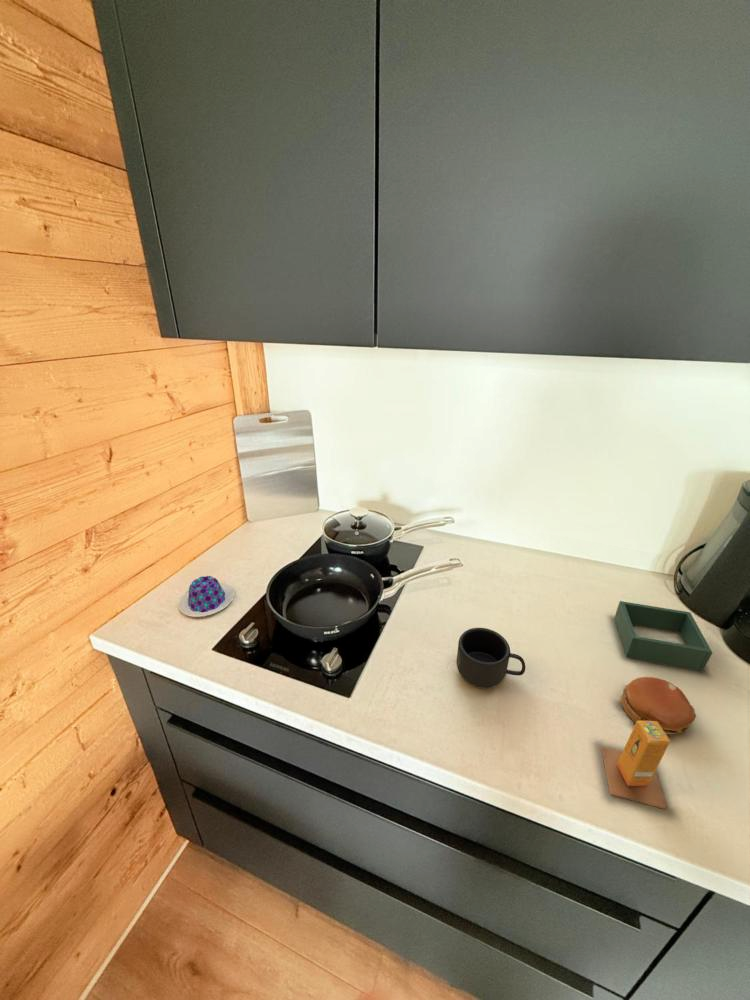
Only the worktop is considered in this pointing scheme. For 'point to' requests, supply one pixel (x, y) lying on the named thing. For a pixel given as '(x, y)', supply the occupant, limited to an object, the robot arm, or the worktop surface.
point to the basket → (659, 651)
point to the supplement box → (642, 753)
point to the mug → (484, 658)
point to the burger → (658, 704)
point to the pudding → (205, 597)
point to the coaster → (635, 793)
